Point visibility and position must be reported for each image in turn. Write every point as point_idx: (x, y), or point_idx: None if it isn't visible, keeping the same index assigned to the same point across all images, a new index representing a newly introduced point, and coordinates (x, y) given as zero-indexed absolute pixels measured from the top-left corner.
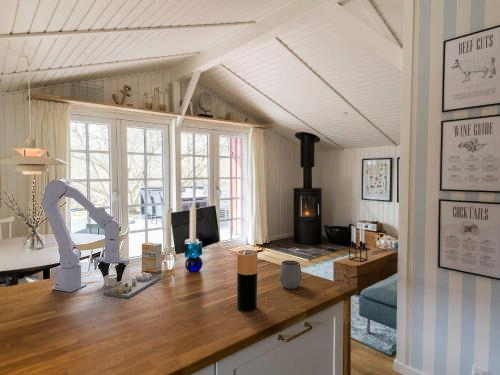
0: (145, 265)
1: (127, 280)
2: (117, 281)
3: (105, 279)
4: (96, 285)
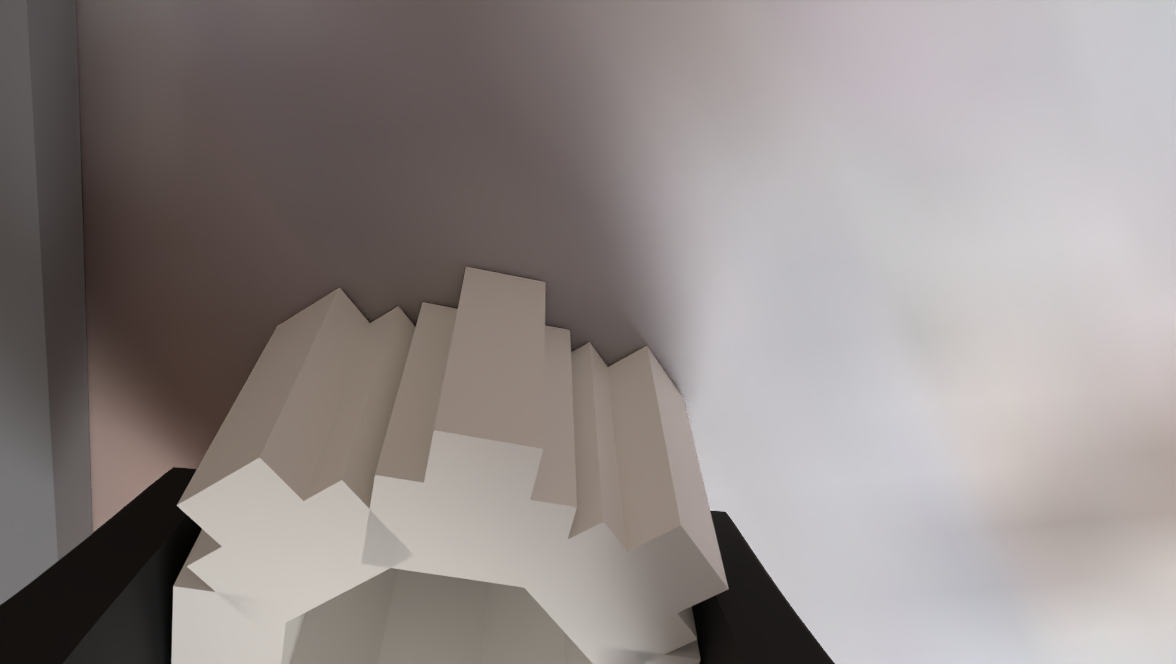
0: None
1: None
2: None
3: (629, 476)
4: (888, 316)
